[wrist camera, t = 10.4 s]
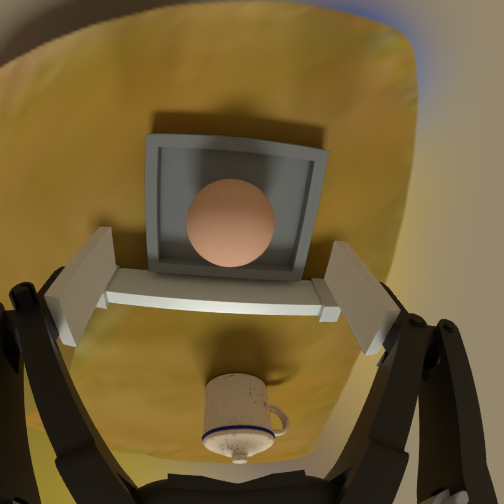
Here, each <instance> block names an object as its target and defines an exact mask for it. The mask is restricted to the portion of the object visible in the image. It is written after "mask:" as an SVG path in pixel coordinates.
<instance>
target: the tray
mask: <svg viewBox="0 0 504 504" xmlns="http://www.w3.org/2000/svg"><path fill="white" fill-rule="evenodd" d="M328 153H329V151H327V150H325V149H322V148H317V147H311V146H305V145H299V144H293V143H286V142H279V141H272V140H264V139H255V138H246V137H235V136H223V135H208V134H188V133H150V134H146V154H145V217H146V240H147V256H148V268H149V272H160V273H172V274H185V275H199V276H214V277H229V278H246V279H264V280H284V281H301V280H302V275H303V271H304V267H305V263H306V259H307V255H308V250H309V246H310V242H311V237H312V233H313V228H314V224H315V219H316V214H317V210H318V205H319V200H320V195H321V190H322V185H323V180H324V175H325V169H326V164H327V158H328ZM223 179H239V180H243V181H246V182H248V183H251V184H252V185H254V186H256V187H257V188H258V189H260V190H261V191H262V192H263V193H264V194H265V196H266V197H267V199H268V200H269V202H270V204H271V206H272V209H273V213H274V218H275V227H274V233H273V237H272V239H271V242H270V243H269V245H268V247H267V248H266V250H265V251H264V252H263V253H262V254H261V255H260V256H259V257H258V258H256V259H255V260H253V261H252V262H250V263H248V264H245V265H242V266H238V267H223V266H219V265H216V264H213V263H211V262H209V261H207V260H206V259H204V258H203V257H202V256H201V255H199V253H198V252H197V251H196V250H195V249H194V247H193V246H192V244H191V242H190V240H189V237H188V233H187V227H186V219H187V213H188V209H189V207H190V204H191V202H192V201H193V199H194V198H195V196H196V195H197V194H198V193H199V192H200V191H201V190H202V189H203V188H204V187H206V186H207V185H209V184H211V183H213V182H216V181H218V180H223Z"/></svg>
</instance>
